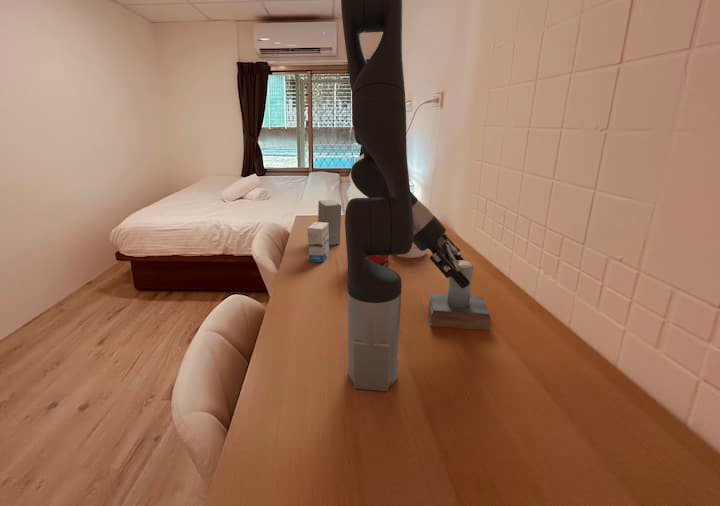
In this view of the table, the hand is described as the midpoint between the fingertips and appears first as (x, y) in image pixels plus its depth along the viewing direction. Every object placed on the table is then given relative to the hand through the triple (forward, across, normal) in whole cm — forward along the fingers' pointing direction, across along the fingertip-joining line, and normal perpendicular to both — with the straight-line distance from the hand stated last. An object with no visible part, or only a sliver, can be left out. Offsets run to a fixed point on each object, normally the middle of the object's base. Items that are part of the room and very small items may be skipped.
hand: (467, 278), depth 85 cm
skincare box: (-29, +44, +44) cm, 69 cm away
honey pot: (-7, +43, +23) cm, 49 cm away
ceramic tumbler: (+4, 0, +6) cm, 7 cm away
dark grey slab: (+7, 0, +8) cm, 11 cm away
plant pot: (-14, +24, +29) cm, 40 cm away
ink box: (-27, +27, +42) cm, 57 cm away
